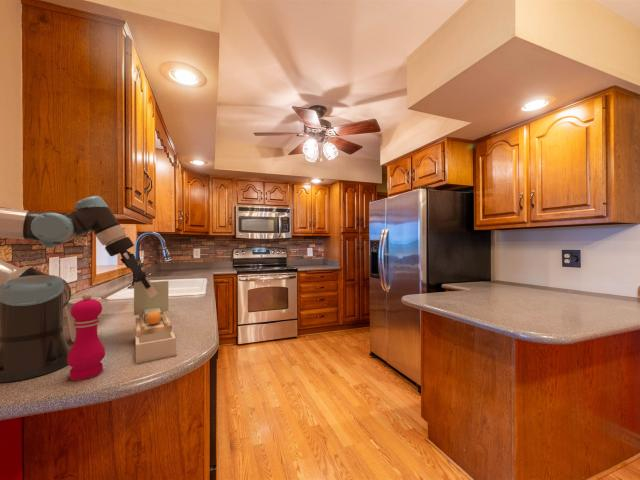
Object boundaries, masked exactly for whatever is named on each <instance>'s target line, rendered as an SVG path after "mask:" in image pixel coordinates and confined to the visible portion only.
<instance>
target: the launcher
mask: <svg viewBox="0 0 640 480" xmlns="http://www.w3.org/2000/svg"><path fill="white" fill-rule="evenodd" d="M168 317H169V316H168V315H167V314H166V313H165V312H161V321H159V322H158V323H157V324H155V325H151V324H149V323H145V320H144V314H142V315H138V317H135V330H136V335H137V336H140V335H146V334H153V333H159V332H165V331H171V330H172V331H173V325H172V323H171V322H170V319H169V318H168Z"/></svg>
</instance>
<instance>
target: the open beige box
mask: <svg viewBox="0 0 640 480" xmlns="http://www.w3.org/2000/svg"><path fill="white" fill-rule="evenodd" d="M134 341H135V348H134V349H135V351H134V352H135V364H136V365H137V364H141V363H146V362H151V361H156V360H160V359H166V358H171V357H175V356H177V338H176V335H175V333H174V330H173V329H172V330H171V331H165V332H159V333H153V334H146V335H140V336H137V334H135V340H134Z"/></svg>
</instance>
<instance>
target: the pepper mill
mask: <svg viewBox="0 0 640 480" xmlns="http://www.w3.org/2000/svg"><path fill="white" fill-rule="evenodd" d="M81 298H83V300H81V301H78V302H76V303H75V304H74V305H73V306H72V308H71V316H72V317H73V318H74V319H75V321H74V322H73V323H74V325H73V327H75V328H76V338H75V341H74V342H73V345H72V346H71V347H70V351H69V354H68V358H67V363H68V364H67V365H68V366H69V367H70V370H69V379H70V380H71V381H72V380H73V381H80V380H81V381H82V380H87V379H91V378H93V377H96V376H98V375H100V374H101V373H102V372H103V363H102V362H101V361H103V359H104V358H105V357H106V351H105V347H104V345H103V343H102V341H101V340H100V337H99V335H98V328H97V325H98V326H99V324H100V315H101V313H102V311H103V304H102V305H101V303H100V302H99V301H97V300H94V299H91V298H92V294H91V293H90V292H86V293H83V295H82V296H81ZM98 316H99V317H98Z"/></svg>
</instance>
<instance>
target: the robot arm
mask: <svg viewBox="0 0 640 480" xmlns="http://www.w3.org/2000/svg"><path fill="white" fill-rule="evenodd" d="M74 207H75V209H74V210H73V211H71V212H68V213H65V214H62V213H57V212H51V211H50V212H43V211H31V210H26V209H19V208H18V209H17V208H10V207H9V208H8V207H0V238H2V239H14V240H15V239H16V240H17V239H18V240H28V241H39V243H40V244H42V246H44V247H45V248H48V249H49V248H54V247H56V246H57V247H58V246H61V245H63V244H65V243H67V242H69V241H71V240H73V239H76V238H78V237H81V236H83V235H85V234H88V233H90V232H93V233H94V236H95V237H96V238H97V239H98V241H99V242H100V244H101V245H102V246H105V247H104V250H105V251H106V252H107V254H108V255H109V256H110V257H114V256H117V255H120V257H121V258H120V261H121V263H122V264H124V265H125V267H126V268H127V269H129V270H130V271H131V272H132V274H133V275H134V277H135V280H134V282H135V283H140V285H141V286H142V288H143V289H144V290H145V292H146V293H147V295H148V296H149V298H152V297H154V296H155V295H157V294H158V292H157V291H156V289H155V288H154V287H153V285H152V284H151V282H152V281H150V280H149V278H148V277H147V275H146V274H147V272H146V271H143V269H142V268H141V267H140V266H139V262H138V261H139V260H137V259H136V256H135V254H134V253H133V252H132V253H131V252H130V251H128V250H129V249H131V248H133V247H134V246H135V244H134V243H133V241H132V240H131V238H130V237H129V236H127V233H126V231H125V229H126V227H125V226H122V225H121V223H120V222H119V221H118V219H117V218H116V215H115V214H114V213H113V211H112V210H111V208H110V206H109V205H107V203H106V202H105V200H104V199H103V198H102V196H99V195H93V196H88V197H86V198H83V199H80V200H78V201H76V202H75V203H74ZM70 286H71V285H69V283H68V282H67V281H66V280H65V279H64V278H62V277H60V276H57V275H51V274H47V273H45V272H44V271H41V270H39V269H37V268H34V267H32V266H25V267H18V266H15V265H13V264H11V263H9V262H6V261H5V260H2V259H0V383H7V382H8V383H9V382H10V383H11V382H17V381H23V380H27V379H32V378H36V377H39V376H43V375H47V374H50V373H53V372H55V371H58V370H60V369H63V368H64V367H66V366H67V365H68V363H67V358H68V354H69V351H70V350H71V347H70V345H69V344H68V341H67V339H66V337H65V335H64V308H65V306H66V305H67V304H68V302H69V300H71V297H72V289H71V287H70Z"/></svg>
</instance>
